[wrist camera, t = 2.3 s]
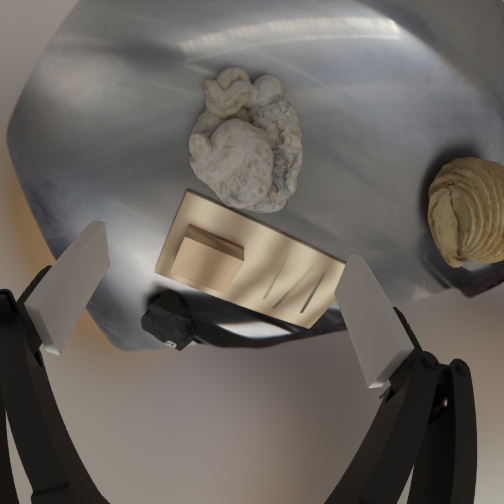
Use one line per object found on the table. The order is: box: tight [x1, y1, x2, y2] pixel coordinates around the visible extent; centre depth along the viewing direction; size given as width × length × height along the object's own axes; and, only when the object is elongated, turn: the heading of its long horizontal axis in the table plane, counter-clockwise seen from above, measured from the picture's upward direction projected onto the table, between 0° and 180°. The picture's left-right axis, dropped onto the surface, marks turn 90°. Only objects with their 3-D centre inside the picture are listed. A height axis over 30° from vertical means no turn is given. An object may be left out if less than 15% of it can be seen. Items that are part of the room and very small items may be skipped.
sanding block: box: [170, 224, 244, 294], centre depth 36 cm, size 8×6×4 cm
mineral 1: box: [141, 290, 195, 351], centre depth 43 cm, size 10×9×6 cm
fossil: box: [428, 157, 504, 268], centre depth 28 cm, size 15×17×15 cm
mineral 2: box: [189, 67, 303, 213], centre depth 27 cm, size 12×17×10 cm
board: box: [155, 189, 346, 328], centre depth 40 cm, size 28×14×1 cm, turn 62°
